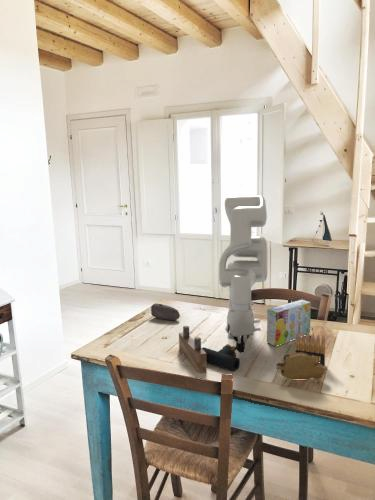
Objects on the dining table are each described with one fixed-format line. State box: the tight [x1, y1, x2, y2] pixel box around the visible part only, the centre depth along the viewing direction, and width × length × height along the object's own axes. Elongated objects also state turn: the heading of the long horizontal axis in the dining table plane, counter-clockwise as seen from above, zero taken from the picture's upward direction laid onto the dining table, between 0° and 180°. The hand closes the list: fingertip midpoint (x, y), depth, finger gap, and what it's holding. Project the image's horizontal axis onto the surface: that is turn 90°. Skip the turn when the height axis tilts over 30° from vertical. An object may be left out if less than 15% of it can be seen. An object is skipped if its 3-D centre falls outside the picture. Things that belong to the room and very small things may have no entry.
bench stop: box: [178, 325, 207, 374], centre depth 153 cm, size 3×21×11 cm, turn 20°
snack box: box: [266, 299, 312, 347], centre depth 170 cm, size 21×6×15 cm, turn 124°
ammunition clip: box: [294, 332, 326, 366], centre depth 148 cm, size 11×2×12 cm, turn 69°
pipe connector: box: [201, 343, 241, 372], centre depth 153 cm, size 12×5×15 cm
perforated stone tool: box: [150, 303, 181, 321], centre depth 197 cm, size 15×5×7 cm, turn 63°
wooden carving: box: [275, 352, 327, 380], centre depth 138 cm, size 16×5×10 cm, turn 91°
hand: (240, 351), depth 157 cm, fingers closed
